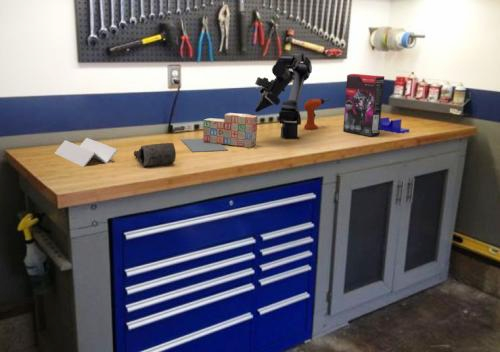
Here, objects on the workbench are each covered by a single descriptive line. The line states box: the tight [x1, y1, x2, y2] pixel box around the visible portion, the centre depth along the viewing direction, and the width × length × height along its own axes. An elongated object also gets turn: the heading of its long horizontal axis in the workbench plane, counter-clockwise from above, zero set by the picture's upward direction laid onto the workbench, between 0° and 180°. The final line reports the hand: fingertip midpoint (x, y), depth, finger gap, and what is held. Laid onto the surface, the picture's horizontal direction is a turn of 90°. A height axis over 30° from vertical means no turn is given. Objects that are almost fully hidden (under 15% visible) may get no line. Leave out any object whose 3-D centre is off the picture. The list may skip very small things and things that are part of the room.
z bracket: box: [54, 137, 119, 168], centre depth 185 cm, size 12×25×6 cm
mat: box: [180, 138, 229, 153], centre depth 210 cm, size 14×24×1 cm, turn 18°
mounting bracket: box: [380, 116, 410, 134], centre depth 253 cm, size 18×7×6 cm, turn 41°
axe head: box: [133, 142, 177, 168], centre depth 185 cm, size 26×8×15 cm
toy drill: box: [303, 98, 330, 131], centre depth 254 cm, size 5×19×15 cm, turn 135°
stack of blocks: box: [203, 112, 258, 148], centre depth 212 cm, size 21×6×12 cm, turn 71°
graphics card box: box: [342, 73, 385, 137], centre depth 239 cm, size 17×7×27 cm, turn 41°
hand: (255, 111), depth 215 cm, fingers closed
